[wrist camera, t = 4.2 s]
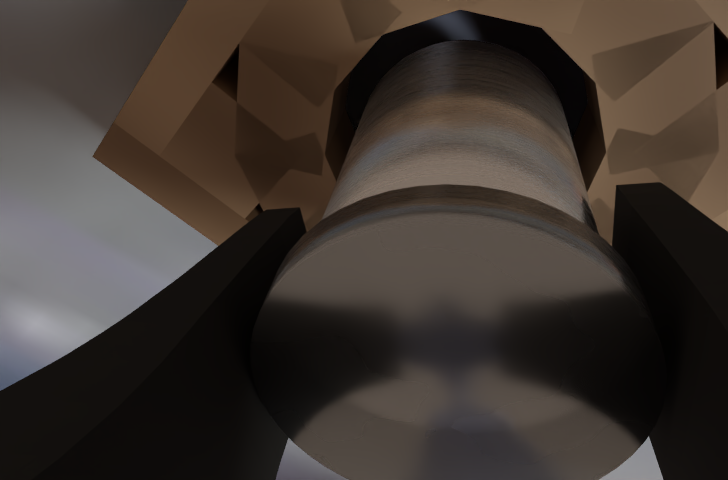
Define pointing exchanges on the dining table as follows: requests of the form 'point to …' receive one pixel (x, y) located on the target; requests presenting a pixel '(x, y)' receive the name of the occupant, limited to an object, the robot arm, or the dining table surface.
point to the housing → (335, 132)
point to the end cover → (460, 293)
